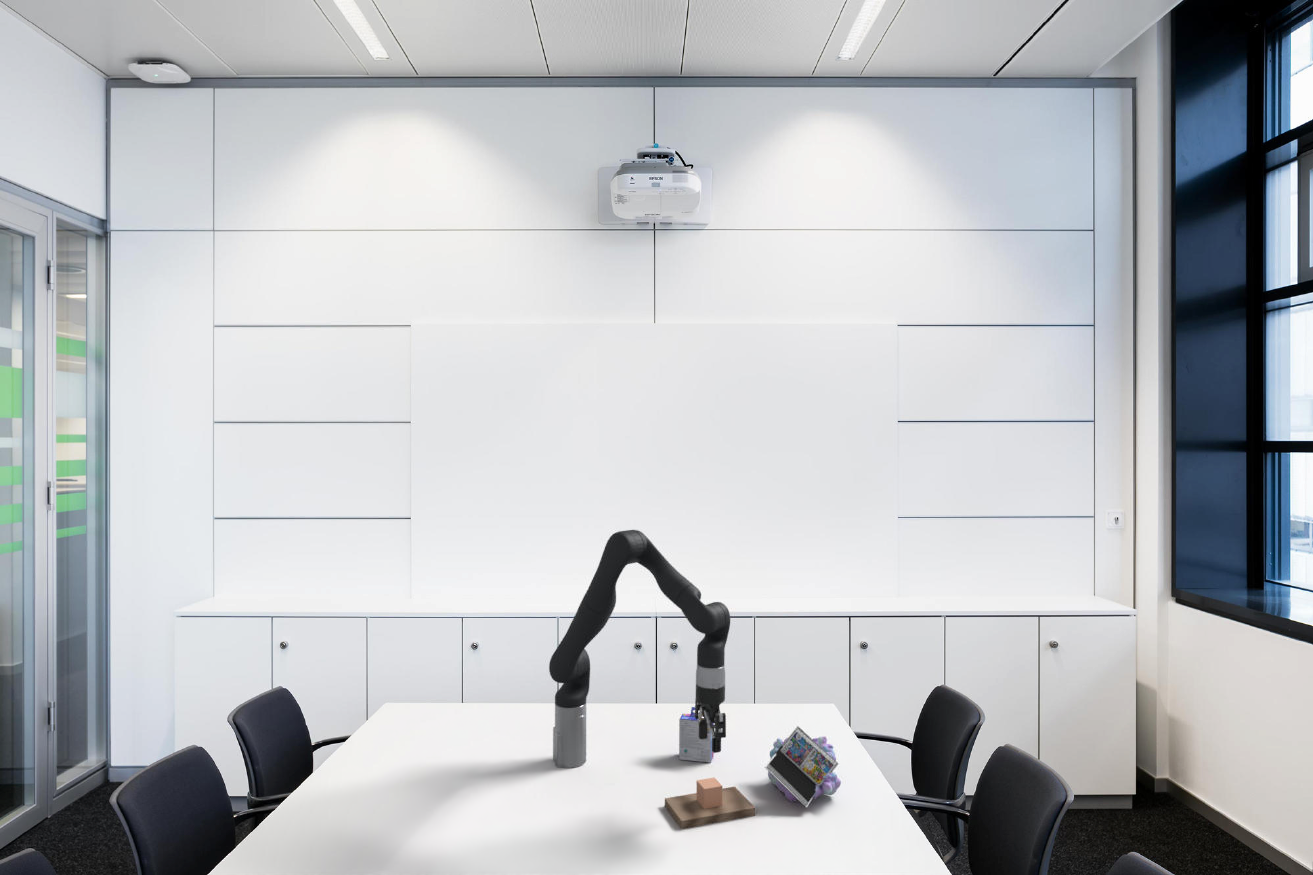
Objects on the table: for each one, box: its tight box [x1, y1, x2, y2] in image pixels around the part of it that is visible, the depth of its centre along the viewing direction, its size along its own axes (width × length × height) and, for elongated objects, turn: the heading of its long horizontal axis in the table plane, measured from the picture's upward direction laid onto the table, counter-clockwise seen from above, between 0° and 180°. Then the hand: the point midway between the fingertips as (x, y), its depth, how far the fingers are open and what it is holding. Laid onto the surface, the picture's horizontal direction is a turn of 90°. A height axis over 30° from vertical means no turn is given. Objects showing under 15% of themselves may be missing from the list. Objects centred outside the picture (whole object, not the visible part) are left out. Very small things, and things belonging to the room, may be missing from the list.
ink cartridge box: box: [678, 706, 715, 763], centre depth 222 cm, size 10×6×14 cm, turn 78°
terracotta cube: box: [696, 777, 723, 809], centre depth 191 cm, size 5×5×5 cm
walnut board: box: [664, 786, 756, 830], centre depth 190 cm, size 20×12×2 cm, turn 110°
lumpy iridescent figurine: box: [764, 726, 842, 808], centre depth 201 cm, size 20×22×18 cm
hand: (709, 745), depth 190 cm, fingers open, 8 cm apart
